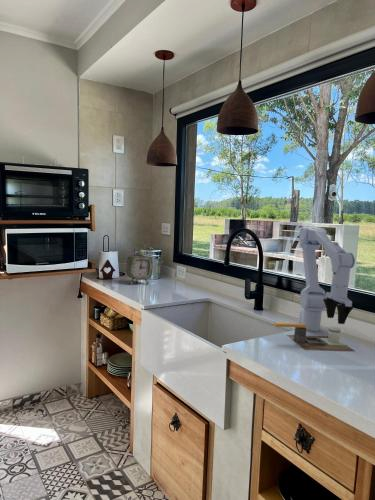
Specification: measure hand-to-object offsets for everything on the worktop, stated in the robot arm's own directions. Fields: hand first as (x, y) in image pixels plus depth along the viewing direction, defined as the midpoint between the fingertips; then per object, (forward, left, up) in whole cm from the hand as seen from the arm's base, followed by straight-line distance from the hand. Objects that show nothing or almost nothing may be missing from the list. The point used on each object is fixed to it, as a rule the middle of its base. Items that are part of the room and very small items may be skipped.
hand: (335, 320), depth 137 cm
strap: (+1, -18, -2) cm, 18 cm away
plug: (0, 0, -8) cm, 8 cm away
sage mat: (0, 0, -8) cm, 8 cm away
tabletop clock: (-101, -72, -10) cm, 125 cm away
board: (+1, -6, -9) cm, 11 cm away
